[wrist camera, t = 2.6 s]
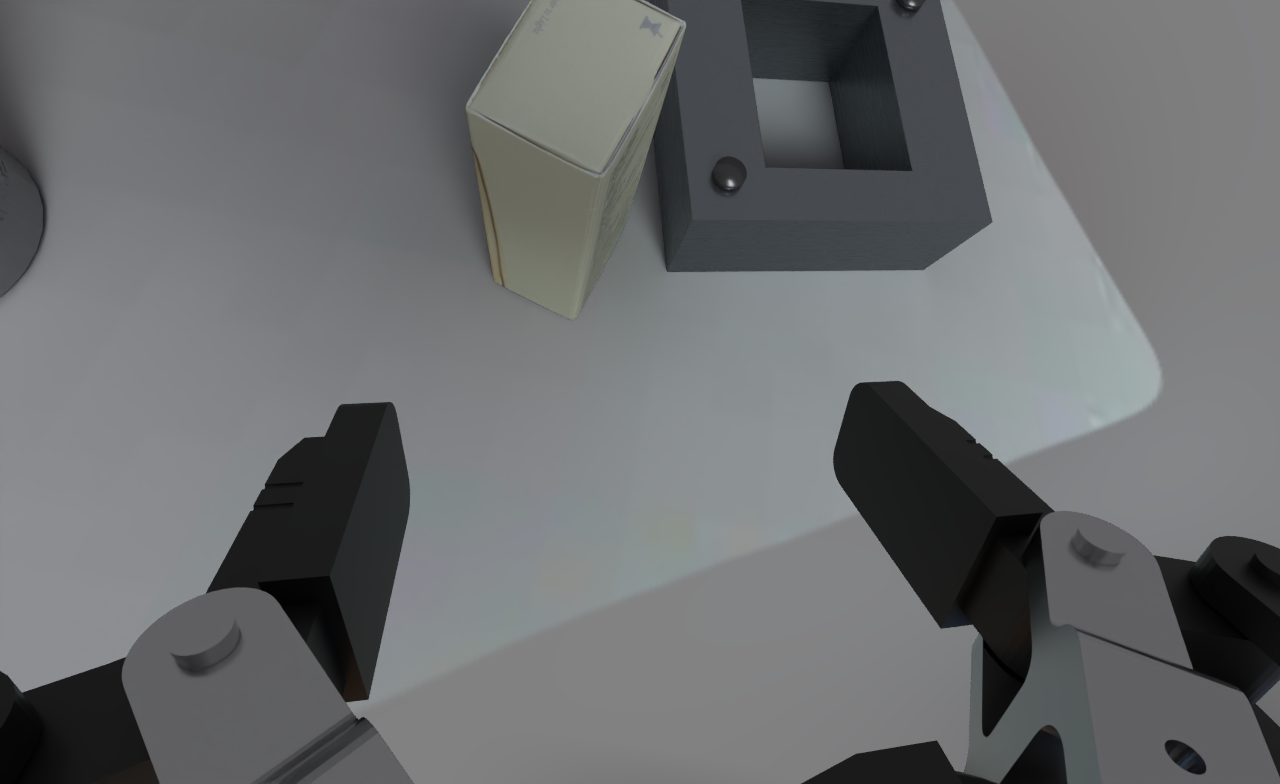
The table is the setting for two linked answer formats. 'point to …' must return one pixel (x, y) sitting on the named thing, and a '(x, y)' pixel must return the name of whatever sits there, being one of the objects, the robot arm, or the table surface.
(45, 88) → the table surface
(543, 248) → the skincare box
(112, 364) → the table surface
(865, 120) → the housing
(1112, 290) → the table surface
